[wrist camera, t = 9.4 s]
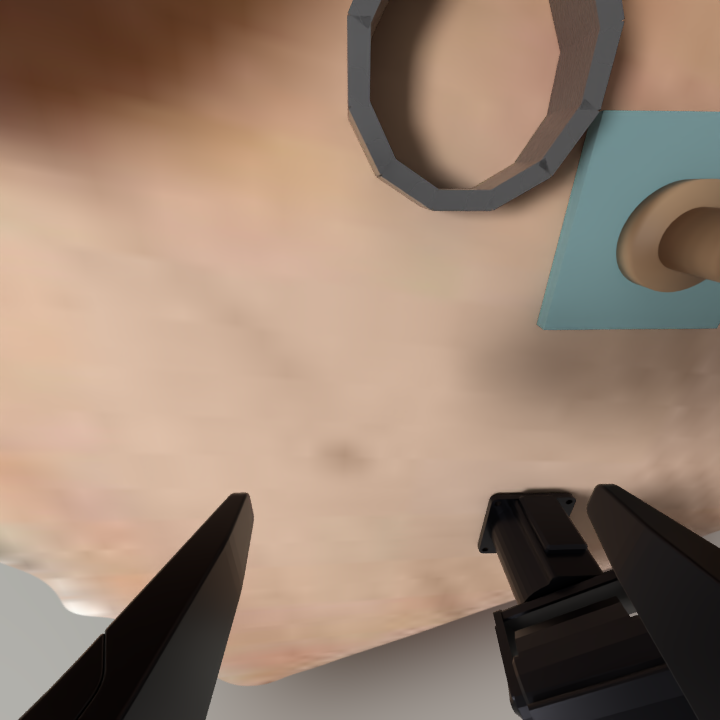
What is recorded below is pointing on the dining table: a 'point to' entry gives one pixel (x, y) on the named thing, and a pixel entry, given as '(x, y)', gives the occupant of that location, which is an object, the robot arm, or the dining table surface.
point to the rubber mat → (610, 212)
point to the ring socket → (549, 143)
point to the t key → (673, 237)
